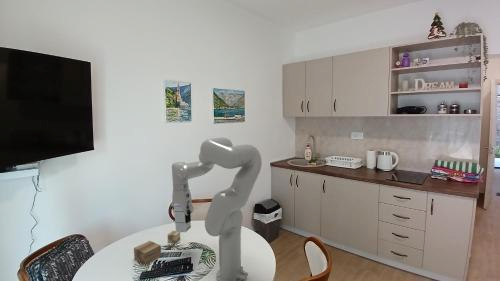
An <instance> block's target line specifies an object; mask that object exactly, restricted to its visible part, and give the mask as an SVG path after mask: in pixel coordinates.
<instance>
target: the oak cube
mask: <svg viewBox="0 0 500 281" xmlns="http://www.w3.org/2000/svg"><path fill="white" fill-rule="evenodd" d="M180 241H181V232H176V230H171V231H170V232H169V233H168V234H167V244H173V245H177V243H178V242H180Z"/></svg>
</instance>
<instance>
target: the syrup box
mask: <svg viewBox="0 0 500 281" xmlns="http://www.w3.org/2000/svg"><path fill="white" fill-rule="evenodd" d="M186 209H187V208H186ZM173 211H174V212H173V213H175V215H174V224H175V231H176V232H180V233H187V232H188V231H189V230H190V229H191V228H192V226H191V221H190V222H188V223H185V215H186V214H185V210H182V208H181V205H180V204H174V210H173ZM187 212H188V210H187Z"/></svg>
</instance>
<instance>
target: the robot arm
mask: <svg viewBox="0 0 500 281" xmlns="http://www.w3.org/2000/svg"><path fill="white" fill-rule="evenodd" d="M215 165H216V166H219V167H221V168H224V169H225V170H227V169H228V170H233V169H237V168H239V170H238V172H236V173H235V175H234V178H233V181H232V183H231V185H230V187H227V188H226V189H223V190H220V191H219V192H217V193H216V194H215V195H214V196H213V197H212V199H211V201H210V203H209V207H208V209H207V212H206V215H205V218H204V228H205V231H206V233H207V234H208V235H209V236H211V237H218V256H219V257H218V258H219V260H218V261H219V262H218V263H219V266H218V267H219V269H217V272H216V273H215V278H216V280H217V281H247V280H248V274H249V273H248V272H246V271H245V270H244V266H243V265H242V255H241V254H242V248H241V246H242V244H241V243H242V242H241V240H242V238H241V237H242V226H243V222H244V221H243V220H244V219H243V217H244V216H243V212H242V210H241V209H242V208H245V206H246V205H247V203H248V201H249V197H250V195H251V193H252V191H253V188H254V185H255V183H256V181H257V179H258V177H259V175H260V173H261V169H262V156H261V154H260V151H259V150H258V148H257V147H255V145H252V144H240V145H239V144H238V145H233V142H232V141H231V140H230V139H229V138H226V137H215V138H213V137H212V138H207V139H205V140H204V141H203V142H202V143H201V145H200V149H199V154H198V160H197V161H194V162H193V161H191V162H188V163H186V162H185V161H181V162H180V161H179V162H178V161H177V162H174V163H173V162H172V165H171V177H172V196H171V198H172V202H170V206H171V208H172V212H173V213H174V204H180V205H181V208H182V210H185V214H186V215H185V223H188V222H191V221H192V219H191V217H192V213H193V211H194V209H195V207H194V205H193V201H192V200H193V199H192V195H191V190H190V189H189V187H190V186H189V180H191V179H194V178H198V177H201V176H203V175H206V174H208V173H209V172H210V171H212V169H214V167H215ZM240 167H241V168H240ZM186 208H187V209H186ZM187 210H188V212H187ZM173 216H175V213H174V215H173Z"/></svg>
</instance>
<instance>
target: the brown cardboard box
mask: <svg viewBox="0 0 500 281" xmlns="http://www.w3.org/2000/svg"><path fill="white" fill-rule="evenodd" d="M133 256H134V257H133V258H134V261H137V262H138V263H141V264H143V266H146V265H149V264H150V263H152V262H154V261H156V260H158V259H160V258H162V245H161V244H159V243H156V242H154V241H151V240H148V241H146V242H144V243H141V244H139V245H137V246H135V247H133Z"/></svg>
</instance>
